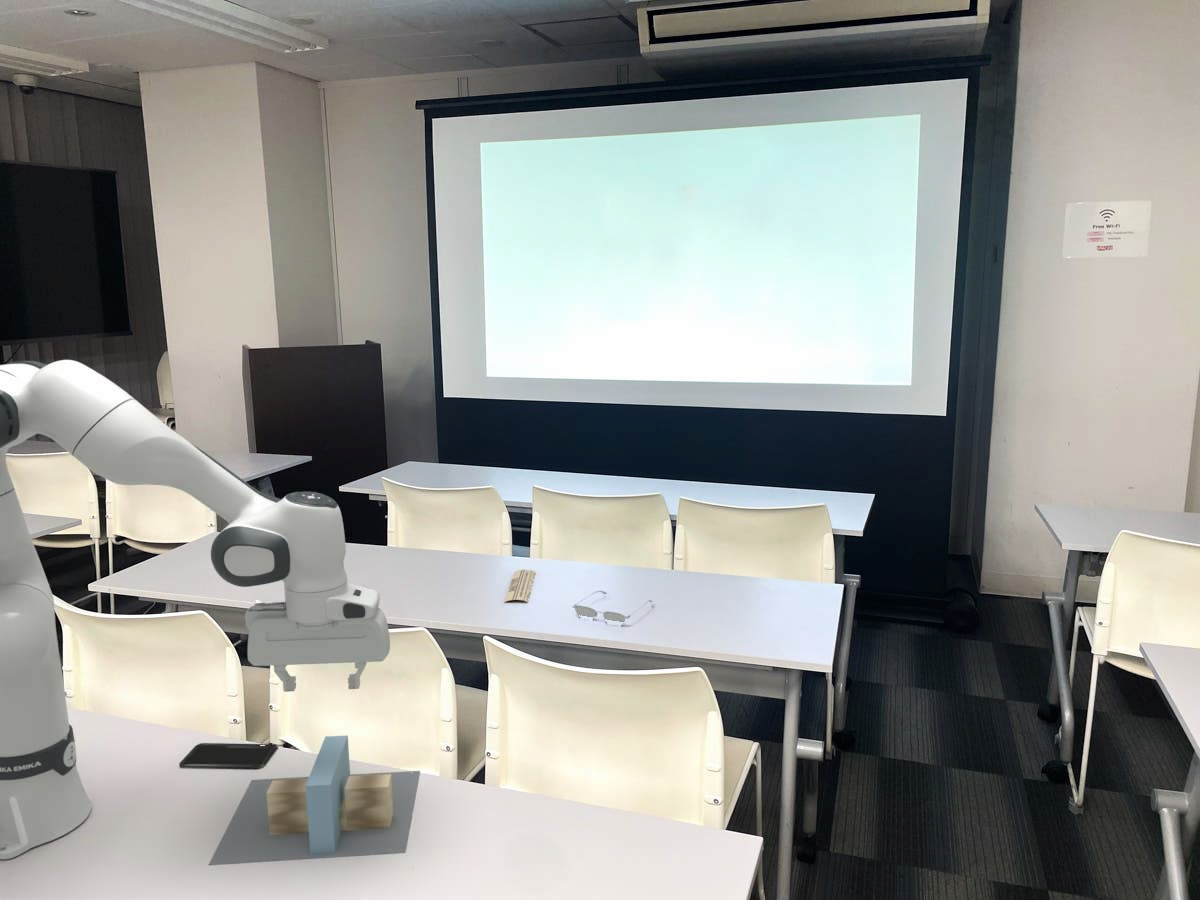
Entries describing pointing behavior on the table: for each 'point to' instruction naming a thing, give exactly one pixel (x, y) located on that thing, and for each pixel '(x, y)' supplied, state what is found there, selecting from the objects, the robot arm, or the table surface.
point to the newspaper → (520, 585)
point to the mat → (255, 843)
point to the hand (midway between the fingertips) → (322, 688)
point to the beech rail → (359, 810)
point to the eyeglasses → (607, 615)
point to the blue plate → (327, 793)
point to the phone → (229, 756)
